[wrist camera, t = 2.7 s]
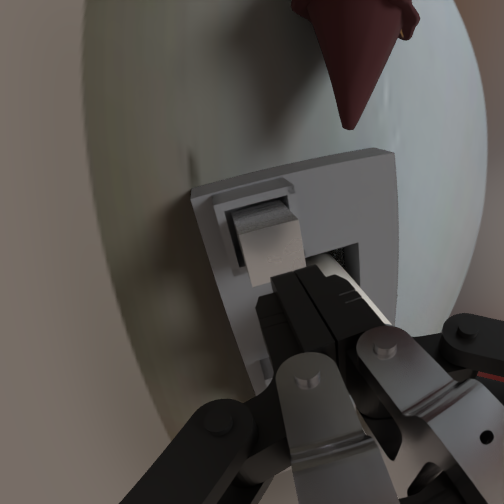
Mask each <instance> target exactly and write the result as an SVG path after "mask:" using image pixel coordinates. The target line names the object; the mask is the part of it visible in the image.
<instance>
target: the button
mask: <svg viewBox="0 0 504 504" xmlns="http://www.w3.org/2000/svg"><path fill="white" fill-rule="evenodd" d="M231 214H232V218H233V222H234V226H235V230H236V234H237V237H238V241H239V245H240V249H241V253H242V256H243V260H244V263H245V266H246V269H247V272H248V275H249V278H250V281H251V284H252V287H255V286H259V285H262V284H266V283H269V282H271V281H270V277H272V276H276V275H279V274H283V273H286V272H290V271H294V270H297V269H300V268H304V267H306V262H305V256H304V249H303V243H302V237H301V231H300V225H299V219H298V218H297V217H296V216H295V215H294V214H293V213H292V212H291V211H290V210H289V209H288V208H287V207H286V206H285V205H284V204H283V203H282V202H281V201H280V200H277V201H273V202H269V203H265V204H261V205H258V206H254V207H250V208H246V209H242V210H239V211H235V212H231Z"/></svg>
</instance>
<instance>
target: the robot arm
mask: <svg viewBox="0 0 504 504" xmlns="http://www.w3.org/2000/svg"><path fill="white" fill-rule="evenodd" d="M270 281H271V286H272V290H273V293H270V294H266V295H263V296H259V298H258V301H257V304H256V307H255V309H256V313H257V317H258V320H259V324H260V328H261V331H262V335H263V339H264V342H265V346H266V349H267V352H268V355H269V359H270V362H271V365H272V368H273V372H274V374H273V378H272V380H271V382H270V384H269V385H268V387H267V388H266V389H265V390H264V391H263V392H262V393H260V394H259V395H257V396H256V397H254V398H252V399H250V400H249V401H247V402H245V403H241V402H239V401H236V400H232V399H219V400H214V401H211V402H209V403H206V404H205V405H203V406H201V407H200V408H199V409H198V410H197V411H196V412H195V413H194V414H193V415H192V416H191V418H190V419H189V420H188V421H187V423H186V424H185V425H184V427H183V428H182V429H181V430H180V432H179V433H178V434H177V435H176V437H175V438H174V439H173V440H172V441H171V443H170V444H169V445H168V446H167V448H166V449H165V450H164V451H163V453H162V454H161V455H160V456H159V457H158V459H157V460H156V461H155V462H154V463H153V465H152V466H151V467H150V468H149V469H148V471H147V472H146V473H145V474H144V475H143V476H142V478H141V479H140V480H139V481H138V482H137V484H136V485H135V486H134V487H133V488H132V489H131V490H130V492H129V493H128V494H127V495H126V496H125V497H124V499H123V500H122V501H121V502H120V503H119V504H258V503H259V501H260V500H261V498H262V496H263V495H264V493H265V491H266V490H267V488H268V486H269V485H270V483H271V481H272V480H273V477H274V475H276V474H278V473H280V472H281V471H283V470H285V469H286V468H288V467H289V466H292V472H293V477H294V482H295V487H296V492H297V496H298V501H299V504H504V382H500V381H496V380H492V379H487V378H484V377H479V376H477V374H478V371H480V372H484V373H488V374H493V375H497V376H501V377H504V321H501V320H496V319H491V318H487V317H483V316H478V315H474V314H468V313H462V314H456V315H453V316H451V317H450V318H448V319H447V320H446V321H445V323H444V325H443V329H442V333H438V334H432V335H426V336H420V337H411V336H410V335H409V334H408V333H407V332H406V331H404V330H402V329H400V328H398V327H394V326H386V325H385V324H384V323H383V321H382V320H381V319H380V318H379V316H378V315H377V314H376V313H375V312H374V311H373V309H372V308H371V307H370V306H369V305H368V303H367V302H366V301H365V300H364V299H362V296H361V295H360V294H359V293H358V292H357V291H356V290H355V288H354V287H353V286H352V285H351V283H350V282H349V281H348V280H346V279H344V278H342V277H340V276H338V275H336V274H334V275H330V276H327V277H326V276H325V275H324V274H323V273H322V271H321V270H320V269H319V267H318V266H317V265H316V264H314V265H310V266H307V267H304V268H300V269H297V270H294V271H290V272H286V273H283V274H279V275H276V276H272V277H270ZM349 395H351V397H352V399H353V401H354V403H355V408H354V406H353V403H352V401H351V398H350V396H349ZM363 430H364V431H365V433H366V434H367V435H366V434H365V433H364V431H363ZM397 496H398V497H397ZM398 498H399V499H398Z"/></svg>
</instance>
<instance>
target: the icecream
mask: <svg viewBox="0 0 504 504" xmlns="http://www.w3.org/2000/svg"><path fill="white" fill-rule="evenodd" d="M291 8H292V11H294V12H295V13H296V14H298V15H300V16H301V17H303V18H306V19H308V20H309V21H310V22H311V23H312V24H313V27H314V30H315V33H316V35H317V38H318V41H319V44H320V47H321V50H322V54H323V57H324V60H325V63H326V66H327V70H328V73H329V76H330V80H331V83H332V87H333V91H334V95H335V99H336V103H337V107H338V111H339V116H340V119H341V123H342V127H343V128H344V129H347V130H354V128H355V126H356V124H357V123H358V121H359V119H360V117H361V115H362V113H363V111H364V109H365V107H366V104H367V102H368V100H369V98H370V96H371V94H372V92H373V90H374V88H375V86H376V84H377V81H378V79H379V77H380V75H381V73H382V71H383V69H384V67H385V64H386V62H387V60H388V58H389V56H390V54H391V51H392V49H393V47H394V45H395V43H396V40H397V38H399V39H402V40H405V41H407V40H409V39H410V38H411V37H412V35H413V32H414V29H415V27H416V26H417V24H418V23H419V21H420V16H419V14H418V12H417V11H416V9H415V8H414V6H413V5H412V0H292V2H291Z"/></svg>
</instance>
